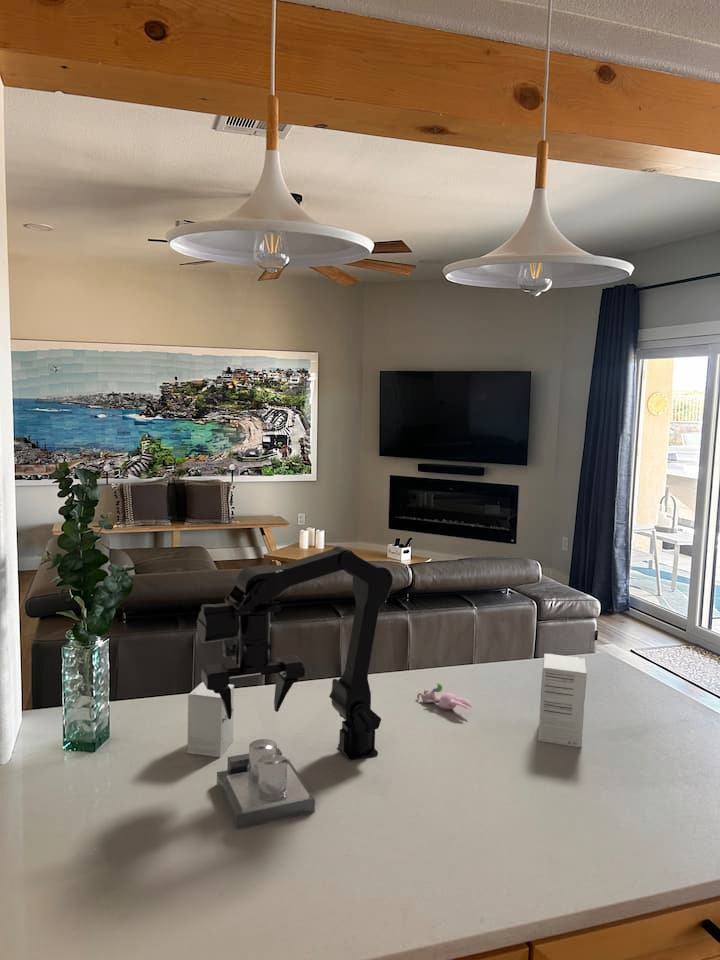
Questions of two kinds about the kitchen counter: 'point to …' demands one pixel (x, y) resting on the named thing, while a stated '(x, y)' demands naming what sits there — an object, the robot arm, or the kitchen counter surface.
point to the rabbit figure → (443, 699)
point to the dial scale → (247, 803)
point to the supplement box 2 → (562, 700)
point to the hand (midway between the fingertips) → (253, 714)
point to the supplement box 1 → (208, 722)
